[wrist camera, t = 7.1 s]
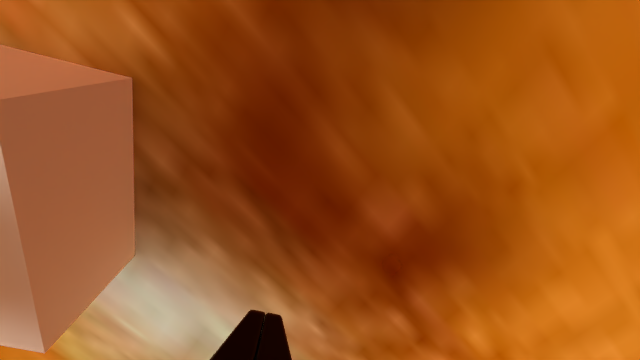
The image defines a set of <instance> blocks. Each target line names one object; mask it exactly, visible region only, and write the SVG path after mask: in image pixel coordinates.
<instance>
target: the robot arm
mask: <svg viewBox="0 0 640 360" xmlns="http://www.w3.org/2000/svg"><path fill="white" fill-rule="evenodd" d="M264 318H265V319H264ZM261 331H262V332H261ZM255 357H256V358H255ZM210 360H292V358H291V354H290V350H289V346H288V342H287V337H286V333H285V329H284V325H283V321H282V317H281V316H280V315H278V314H272V313H267V314H266V315H265V313H264V312H262V311H257V310H250V311H249V312H248V313H247V314H246V316H245V317H244V318H243V319H242V320H241V322H240V323H239V324H238V325H237V327H236V328H235V329H234V330H233V332H232V333H231V334H230V335H229V337H228V338H227V339H226V340H225V341H224V343H223V344H222V345H221V346H220V348H219V349H218V350H217V351H216V353H215V354H214V355H213V356H212V357H211V359H210Z"/></svg>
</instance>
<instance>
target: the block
mask: <svg viewBox="0 0 640 360" xmlns="http://www.w3.org/2000/svg"><path fill="white" fill-rule="evenodd" d="M134 256H135V217H134V154H133V91H132V78H131V77H127V76H123V75H119V74H115V73H111V72H107V71H103V70H99V69H95V68H91V67H87V66H83V65H79V64H75V63H71V62H67V61H63V60H59V59H55V58H51V57H48V56H44V55H40V54H36V53H32V52H28V51H24V50H20V49H16V48H12V47H8V46H4V45H0V345H1V346H7V347H13V348H18V349H24V350H29V351H35V352H41V353H45V352H46V351H47V350H48V349H49V348H50V347H51V346H52V345H53V344H54V343H55V342H56V340H57V339H58V338H59V337H60V336H61V335H62V334H63V333H64V332H65V331H66V330H67V328H68V327H69V326H70V325H71V324H72V323H73V322H74V321H75V320H76V319H77V318H78V317H79V315H80V314H81V313H82V312H83V311H84V310H85V309H86V308H87V307H88V306H89V305H90V304H91V302H92V301H93V300H94V299H95V298H96V297H97V296H98V295H99V294H100V293H101V292H102V291H103V289H104V288H105V287H106V286H107V285H108V284H109V283H110V282H111V281H112V280H113V279H114V278H115V276H116V275H117V274H118V273H119V272H120V271H121V270H122V269H123V268H124V267H125V266H126V265H127V263H128V262H129V261H130V260H131V259H132V258H133V257H134Z"/></svg>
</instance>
